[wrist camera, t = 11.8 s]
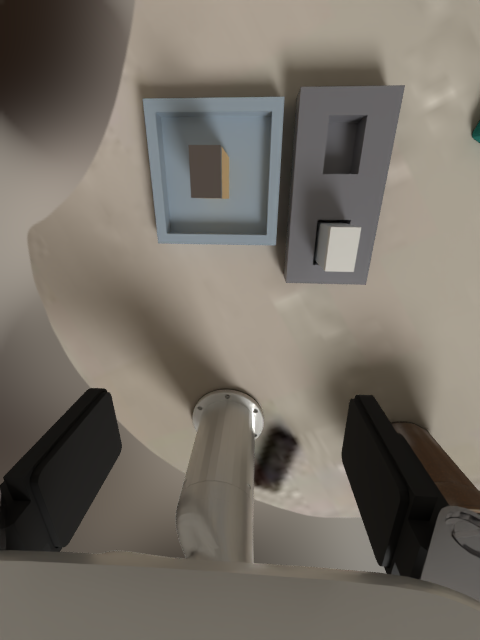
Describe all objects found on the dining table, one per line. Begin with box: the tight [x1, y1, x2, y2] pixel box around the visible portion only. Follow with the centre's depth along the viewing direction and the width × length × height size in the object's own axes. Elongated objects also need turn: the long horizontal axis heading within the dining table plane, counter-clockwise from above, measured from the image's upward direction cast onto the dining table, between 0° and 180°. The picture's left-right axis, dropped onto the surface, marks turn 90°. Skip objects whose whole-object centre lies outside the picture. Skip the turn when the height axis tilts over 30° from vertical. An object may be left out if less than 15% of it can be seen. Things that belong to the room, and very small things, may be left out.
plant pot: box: [391, 422, 480, 515], centre depth 42 cm, size 16×16×16 cm
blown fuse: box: [188, 145, 229, 199], centre depth 30 cm, size 4×3×8 cm, turn 179°
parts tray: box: [143, 97, 284, 245], centre depth 33 cm, size 15×15×2 cm
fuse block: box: [284, 85, 405, 285], centre depth 33 cm, size 20×10×4 cm, turn 0°
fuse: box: [313, 221, 361, 272], centre depth 32 cm, size 4×3×8 cm, turn 0°
